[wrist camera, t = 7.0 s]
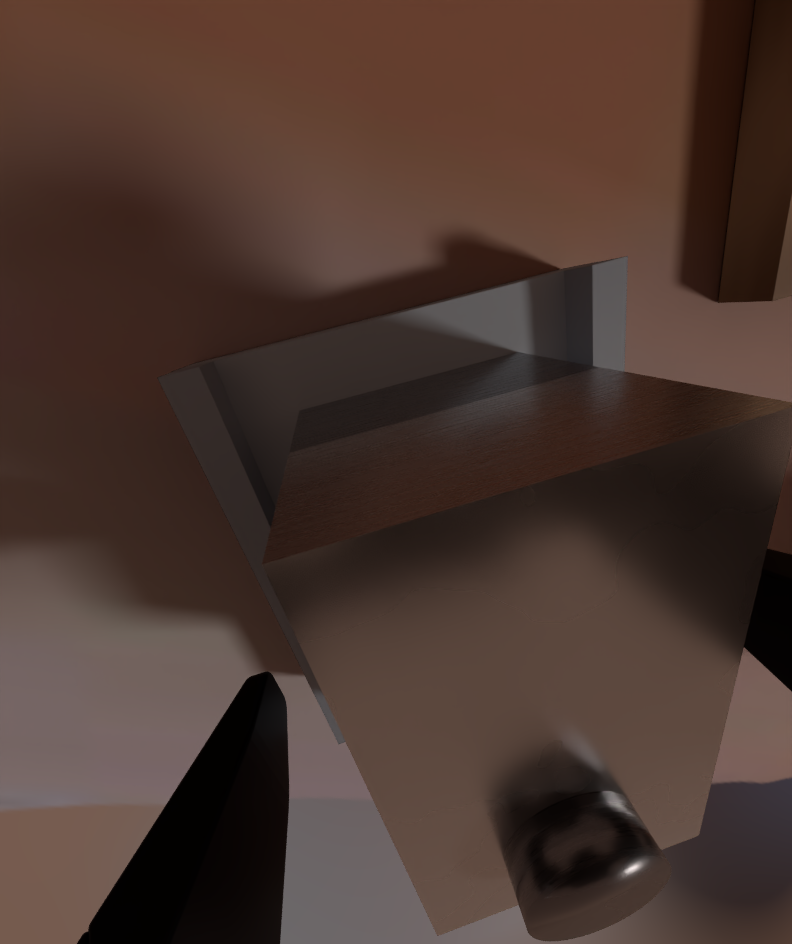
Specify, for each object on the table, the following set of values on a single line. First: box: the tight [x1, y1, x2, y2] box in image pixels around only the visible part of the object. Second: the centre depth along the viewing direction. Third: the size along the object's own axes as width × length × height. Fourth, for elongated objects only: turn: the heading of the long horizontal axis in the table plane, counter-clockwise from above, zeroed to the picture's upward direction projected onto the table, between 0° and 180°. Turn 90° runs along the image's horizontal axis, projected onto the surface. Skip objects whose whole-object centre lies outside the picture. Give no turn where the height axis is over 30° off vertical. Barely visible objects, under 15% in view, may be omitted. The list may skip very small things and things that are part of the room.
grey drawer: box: [262, 352, 792, 941], centre depth 8 cm, size 6×9×7 cm, turn 13°
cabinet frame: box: [158, 256, 628, 744], centre depth 11 cm, size 12×10×2 cm
